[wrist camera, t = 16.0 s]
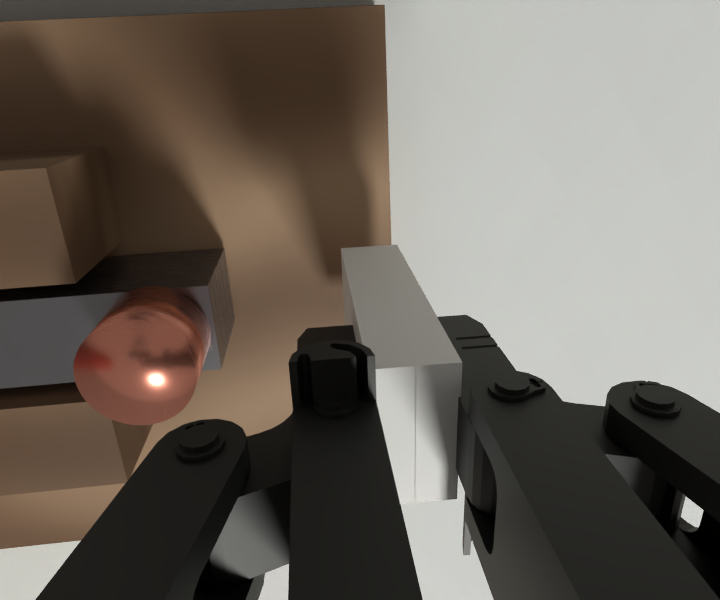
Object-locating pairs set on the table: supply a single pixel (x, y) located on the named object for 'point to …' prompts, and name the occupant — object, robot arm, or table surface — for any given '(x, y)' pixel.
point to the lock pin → (123, 332)
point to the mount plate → (182, 209)
